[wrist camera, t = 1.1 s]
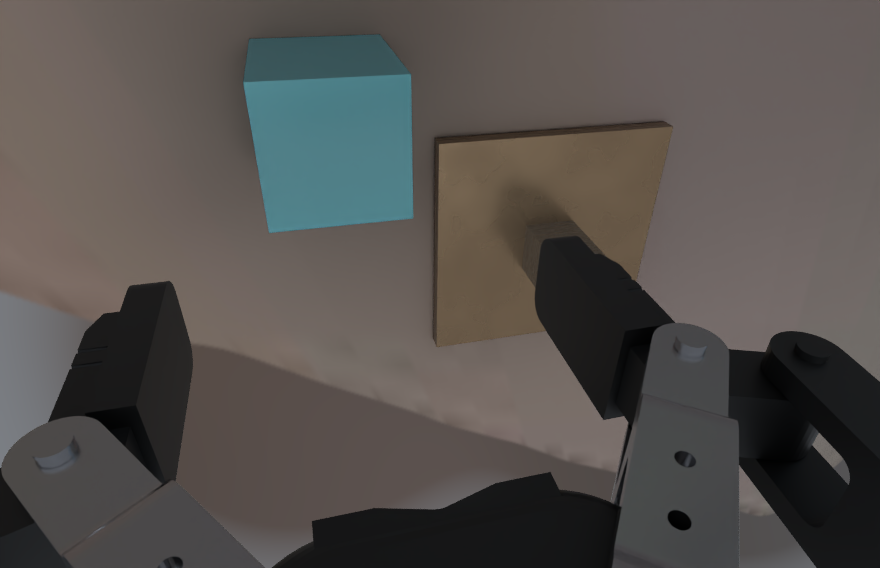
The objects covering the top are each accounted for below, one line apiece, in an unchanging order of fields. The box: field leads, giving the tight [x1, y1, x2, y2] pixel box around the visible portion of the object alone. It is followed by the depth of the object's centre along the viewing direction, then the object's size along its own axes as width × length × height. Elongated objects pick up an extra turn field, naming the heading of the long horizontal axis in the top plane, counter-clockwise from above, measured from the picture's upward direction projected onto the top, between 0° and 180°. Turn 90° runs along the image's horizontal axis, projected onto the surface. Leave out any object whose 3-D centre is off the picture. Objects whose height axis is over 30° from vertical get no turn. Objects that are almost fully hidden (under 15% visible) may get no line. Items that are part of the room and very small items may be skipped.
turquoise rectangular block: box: [243, 34, 413, 233], centre depth 22 cm, size 5×5×7 cm
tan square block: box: [433, 122, 673, 347], centre depth 29 cm, size 12×12×7 cm
